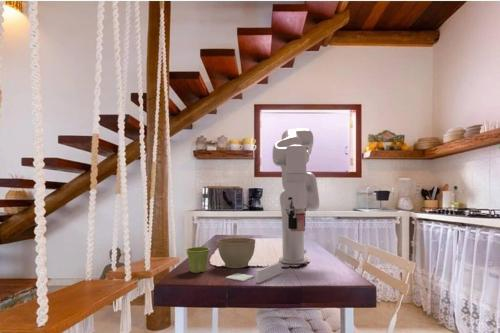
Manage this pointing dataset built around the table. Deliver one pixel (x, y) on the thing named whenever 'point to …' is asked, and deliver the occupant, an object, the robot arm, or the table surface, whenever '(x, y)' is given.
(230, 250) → the planter bowl
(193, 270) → the plant pot
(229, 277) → the pad
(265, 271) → the low wall
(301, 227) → the small box
